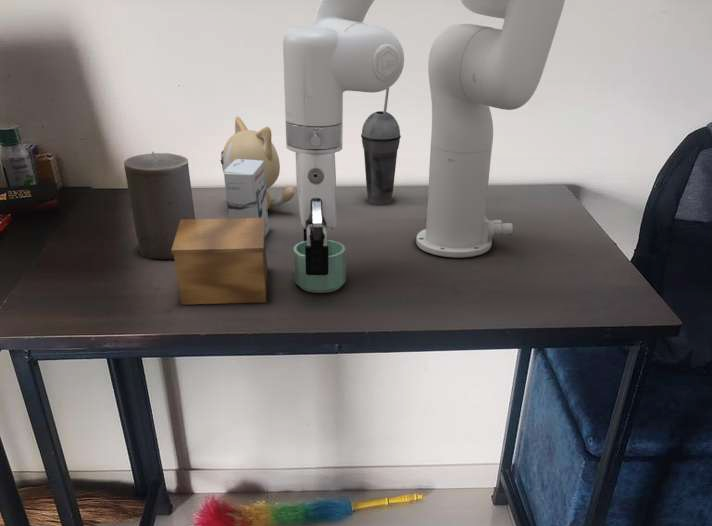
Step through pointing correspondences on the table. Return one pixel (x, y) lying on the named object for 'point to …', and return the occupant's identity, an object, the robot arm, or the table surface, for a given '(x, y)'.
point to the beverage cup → (380, 154)
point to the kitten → (256, 156)
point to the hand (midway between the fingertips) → (315, 262)
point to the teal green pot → (321, 282)
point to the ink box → (246, 190)
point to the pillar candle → (158, 200)
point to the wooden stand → (221, 260)
